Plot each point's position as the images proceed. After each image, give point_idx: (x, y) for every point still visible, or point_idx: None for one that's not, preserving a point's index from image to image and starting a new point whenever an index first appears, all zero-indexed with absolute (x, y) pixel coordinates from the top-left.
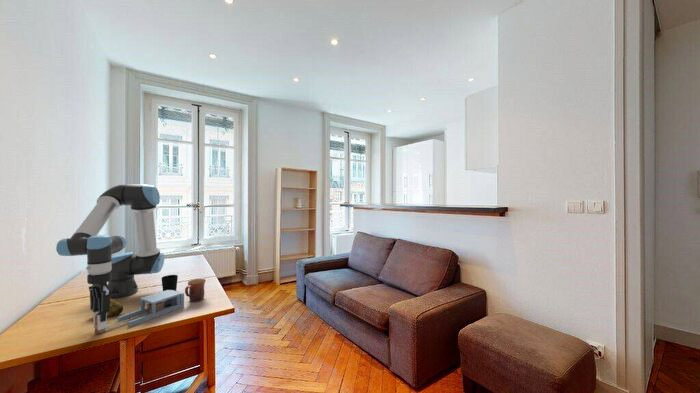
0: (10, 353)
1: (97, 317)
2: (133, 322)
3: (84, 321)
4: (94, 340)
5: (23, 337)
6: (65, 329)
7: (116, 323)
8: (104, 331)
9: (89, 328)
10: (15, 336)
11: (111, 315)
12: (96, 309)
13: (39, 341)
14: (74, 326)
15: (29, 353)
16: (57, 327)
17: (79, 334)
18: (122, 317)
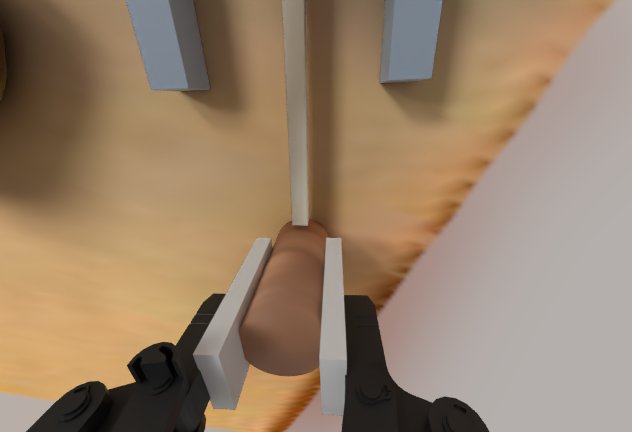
0: (212, 421)
1: (311, 367)
2: (431, 43)
3: (9, 218)
4: (390, 289)
5: (73, 380)
6: (88, 300)
7: (301, 154)
8: (323, 228)
9: (171, 243)
10: (41, 386)
11: (5, 77)
12: (186, 426)
13: None
14: (70, 269)
15: (268, 407)
16: (28, 306)
17: (225, 293)
18: (186, 55)
